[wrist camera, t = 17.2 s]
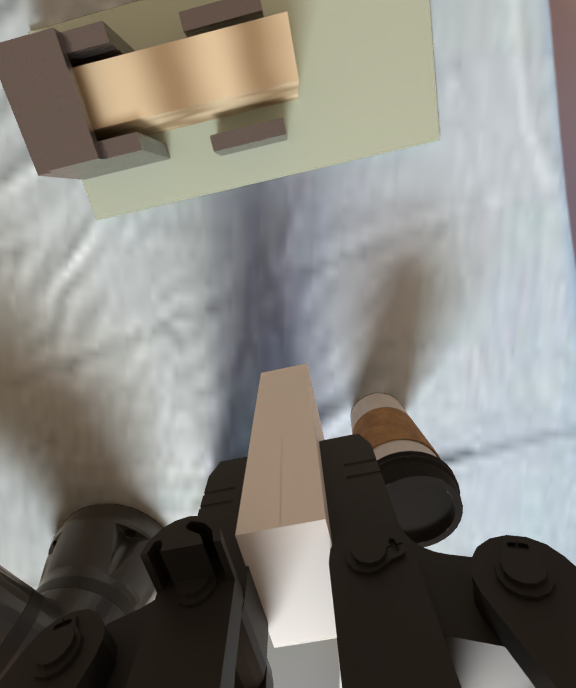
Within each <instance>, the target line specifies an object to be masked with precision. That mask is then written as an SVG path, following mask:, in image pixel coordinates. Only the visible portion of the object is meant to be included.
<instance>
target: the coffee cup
mask: <svg viewBox="0 0 576 688" xmlns="http://www.w3.org/2000/svg"><path fill="white" fill-rule="evenodd" d="M351 426H352V435H353V434H360V435H361V436H362V437H363V438H365V439H366V440H367V441H368V442H369V443H371V445H372V448H373V451H374V453H375V456H376V460H377V462H378V465H379V468H380V471H381V474H382V477H383V479H384V482H385V485H386V488H387V491H388V494H389V497H390V500H391V503H392V505H393V508H394V511H395V514H396V517H397V520H398V523H399V525H400V526H401V528H402V530H403V532H404V533H405V534H406V535H407V536H408V537H409V538H410V539H411V540H412V541H414V542H415V543H417V544H418V545H420V546H421V547H426V546H430V545H433V544H436V543H438V542H440V541H442V540H443V539H445V538H446V537H448V536H449V535H450V534H451V533H452V532H453V531H454V530H455V529H456V528H457V526H458V524H459V523H460V521H461V517H462V514H463V505H462V501H461V497H460V489H459V485H458V482H457V480H456V478H455V476H454V474H453V472H452V470H451V469H450V467H449V466H448V465H447V464H446V463H445V462H443V461H442V460H441V459H440V457H439V455H438V454H437V453H436V451H435V450H434V449H433V447H432V446H431V444H430V443H429V442H428V440H427V439H426V438H425V436H424V435H423V434H422V432H421V431H420V430H419V428H418V427H417V426H416V424H415V423H414V422H413V420H412V419H411V418H410V417H409V416H408V414H407V413H406V411H405V410H404V408H403V407H402V405H401V404H400V403H399V402H398V400H396V399H395V398H394V397H392V396H390V395H387V394H382V393H375V394H370V395H367V396H365V397H363V398H362V399H360V400H359V401H358V402H357V403H356V404H355V406H354V407H353V410H352V412H351Z"/></svg>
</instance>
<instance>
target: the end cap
mask: <svg viewBox="0 0 576 688" xmlns="http://www.w3.org/2000/svg"><path fill="white" fill-rule="evenodd" d="M134 51H135V50H134V49H133V48H132V47H131V46H130V45H128V44H127V43H126V42H125V41H124V40H123V39H122V38H121V37H120V36H119V35H118V34H117V33H115V32H114V31H113V30H112V29H111V28H110V27H109V26H108V25H107V24H106V23H105V22H103V21H99V22H95V23H92V24H88V25H85V26H81V27H78V28H74V29H71V30H67V31H63V32H59V31H58V30H56V29H55V28H50V29H47V30H43V31H40V32H36V33H32V34H29V35H25V36H22V37H18V38H15V39H11V40H8V41H4V42H1V43H0V80H1V83H2V85H3V88H4V90H5V93H6V95H7V98H8V100H9V103H10V105H11V108H12V110H13V113H14V116H15V118H16V121H17V123H18V126H19V128H20V131H21V133H22V136H23V138H24V141H25V143H26V146H27V148H28V151H29V153H30V156H31V158H32V161H33V163H34V166H35V168H36V171H37V173H38V176H48V177H60V178H71V179H83V180H86V179H90V178H94V177H98V176H102V175H106V174H110V173H114V172H119V171H123V170H127V169H131V168H135V167H139V166H143V165H147V164H151V163H155V162H159V161H164V160H168V159H170V155H169V152H168V148H167V145H166V144H165V143H162V142H160V141H158V140H155V139H153V138H150V137H148V136H146V135H143V134H141V133H138V132H134V133H130V134H126V135H122V136H118V137H114V138H110V139H106V140H102V141H97V138H96V136H95V133H94V130H93V127H92V124H91V121H90V118H89V115H88V112H87V109H86V106H85V103H84V100H83V97H82V94H81V92H80V89H79V86H78V83H77V80H76V77H75V74H74V71H73V68H74V67H77V66H81V65H85V64H89V63H93V62H96V61H100V60H104V59H108V58H112V57H115V56H119V55H123V54H127V53H131V52H134Z"/></svg>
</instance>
